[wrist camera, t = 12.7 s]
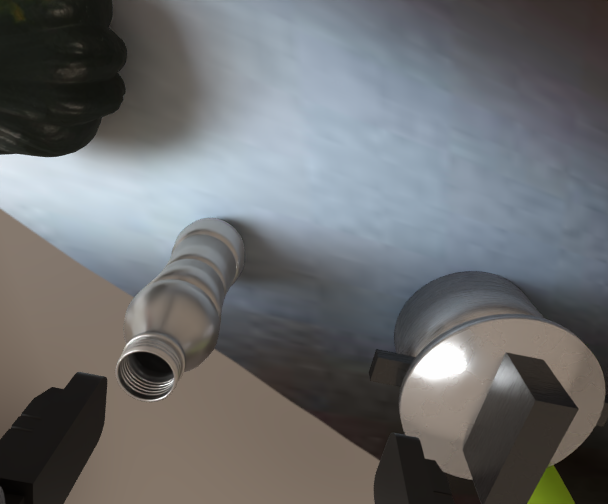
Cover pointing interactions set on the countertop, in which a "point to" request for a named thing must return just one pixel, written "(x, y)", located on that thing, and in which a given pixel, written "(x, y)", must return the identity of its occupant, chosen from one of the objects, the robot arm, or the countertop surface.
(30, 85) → the squash
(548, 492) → the soap dispenser
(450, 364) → the cooker lid
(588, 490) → the countertop surface
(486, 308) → the cooker pot
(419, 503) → the robot arm
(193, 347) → the plastic bottle
